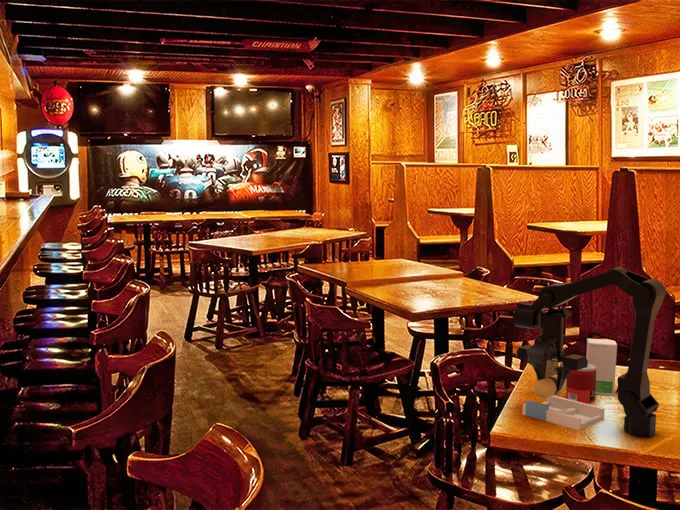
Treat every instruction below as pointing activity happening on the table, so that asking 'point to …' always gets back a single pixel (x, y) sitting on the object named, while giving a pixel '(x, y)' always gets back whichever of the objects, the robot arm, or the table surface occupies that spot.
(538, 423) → the table surface
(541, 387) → the banded tan cylinder
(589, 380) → the canned food
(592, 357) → the skincare box
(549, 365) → the shoe polish box
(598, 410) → the white storage bin
